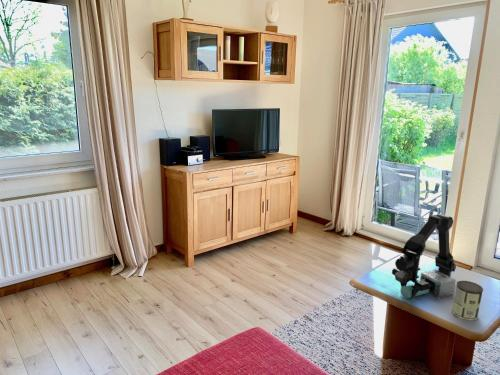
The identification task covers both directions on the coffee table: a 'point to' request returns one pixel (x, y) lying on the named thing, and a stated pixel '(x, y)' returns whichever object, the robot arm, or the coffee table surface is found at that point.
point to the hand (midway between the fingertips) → (407, 294)
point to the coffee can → (467, 300)
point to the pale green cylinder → (410, 291)
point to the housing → (438, 283)
